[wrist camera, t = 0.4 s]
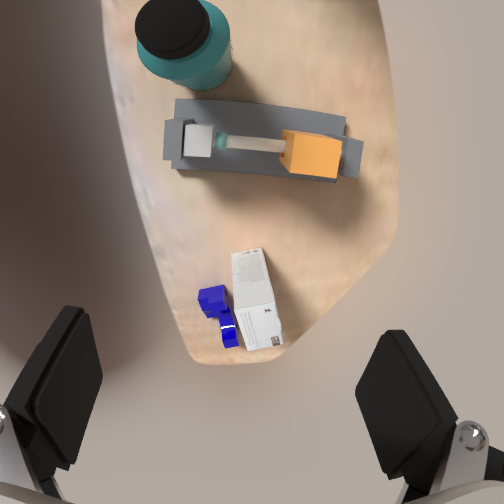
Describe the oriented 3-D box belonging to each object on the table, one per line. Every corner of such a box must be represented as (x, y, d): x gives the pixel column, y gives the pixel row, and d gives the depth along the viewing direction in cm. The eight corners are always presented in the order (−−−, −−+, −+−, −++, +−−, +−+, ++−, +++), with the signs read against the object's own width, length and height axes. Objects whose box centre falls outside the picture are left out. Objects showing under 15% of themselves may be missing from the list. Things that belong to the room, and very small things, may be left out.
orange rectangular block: (282, 129, 29) (294, 133, 23) (321, 134, 29) (342, 141, 24) (278, 160, 30) (289, 172, 25) (317, 165, 31) (336, 178, 25)
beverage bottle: (245, 67, 30) (260, 18, 12) (200, 105, 32) (162, 99, 14) (206, 29, 28) (180, -49, 10) (162, 67, 30) (88, 29, 12)
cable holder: (199, 289, 43) (196, 306, 39) (223, 283, 42) (223, 300, 39) (215, 332, 46) (215, 350, 43) (238, 327, 46) (239, 345, 42)
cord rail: (178, 99, 32) (161, 96, 24) (341, 116, 33) (371, 120, 26) (173, 166, 35) (157, 183, 27) (331, 180, 37) (357, 200, 29)
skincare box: (229, 253, 40) (229, 309, 29) (263, 245, 40) (275, 299, 29) (240, 292, 43) (243, 353, 32) (272, 285, 43) (285, 345, 32)
